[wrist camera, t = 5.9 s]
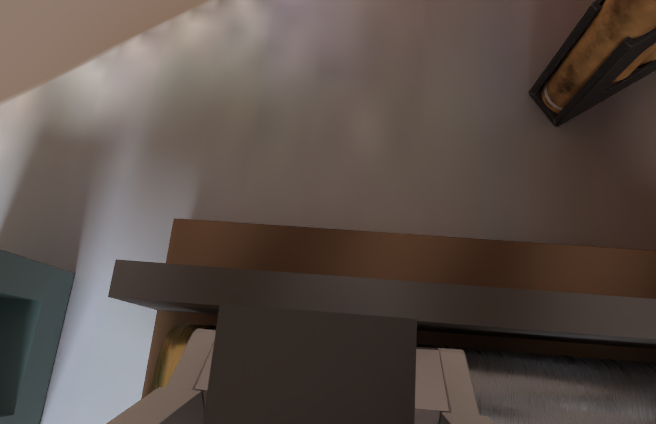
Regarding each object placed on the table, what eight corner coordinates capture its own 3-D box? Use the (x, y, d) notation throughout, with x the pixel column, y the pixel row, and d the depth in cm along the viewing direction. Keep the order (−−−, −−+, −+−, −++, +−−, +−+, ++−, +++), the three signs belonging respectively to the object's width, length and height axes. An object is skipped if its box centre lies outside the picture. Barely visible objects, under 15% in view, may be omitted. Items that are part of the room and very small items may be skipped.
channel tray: (789, 270, 17) (960, 236, 12) (849, 564, 15) (1094, 663, 10) (187, 229, 18) (132, 183, 14) (142, 492, 16) (54, 549, 11)
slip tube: (716, 367, 14) (1333, 380, 5) (731, 467, 14) (1480, 676, 5) (194, 325, 15) (-22, 277, 6) (180, 417, 15) (-89, 509, 6)
